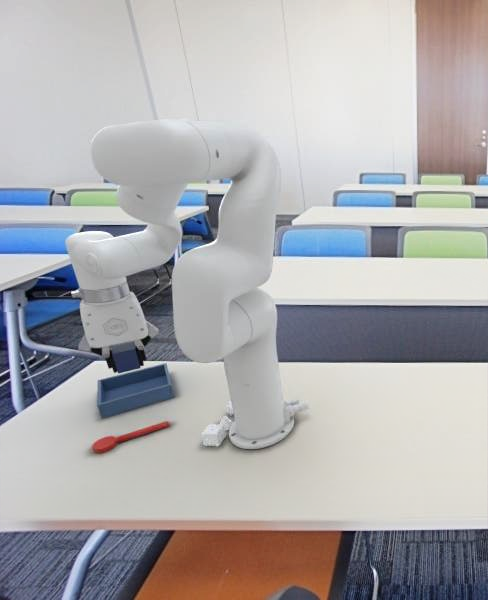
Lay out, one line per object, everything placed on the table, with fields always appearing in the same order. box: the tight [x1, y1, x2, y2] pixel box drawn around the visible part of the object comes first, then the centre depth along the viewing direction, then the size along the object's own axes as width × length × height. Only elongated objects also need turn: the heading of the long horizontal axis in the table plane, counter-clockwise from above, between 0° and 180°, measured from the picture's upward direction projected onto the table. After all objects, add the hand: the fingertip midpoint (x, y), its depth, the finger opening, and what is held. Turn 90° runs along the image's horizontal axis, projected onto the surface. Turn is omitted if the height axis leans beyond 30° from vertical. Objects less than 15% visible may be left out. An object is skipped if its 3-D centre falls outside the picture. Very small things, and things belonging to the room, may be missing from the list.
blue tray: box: [96, 362, 176, 419], centre depth 92 cm, size 13×11×4 cm
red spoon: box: [91, 421, 170, 454], centre depth 80 cm, size 12×4×1 cm, turn 128°
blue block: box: [111, 341, 142, 375], centre depth 89 cm, size 4×4×5 cm
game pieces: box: [200, 400, 234, 447], centre depth 84 cm, size 12×3×3 cm, turn 1°
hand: (128, 365), depth 90 cm, fingers closed on blue block, 4 cm apart
